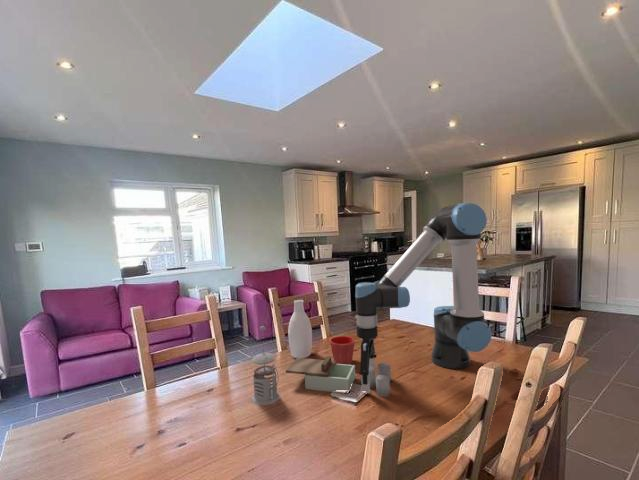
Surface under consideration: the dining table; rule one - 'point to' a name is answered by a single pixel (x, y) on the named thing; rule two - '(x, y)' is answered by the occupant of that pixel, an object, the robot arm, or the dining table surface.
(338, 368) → the sage box
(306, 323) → the bottle
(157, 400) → the dining table surface
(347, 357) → the flower pot
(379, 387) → the grey rounded cylinder
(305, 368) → the walnut lid
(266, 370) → the french press
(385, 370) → the grey cylinder
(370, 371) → the grey cylinder
